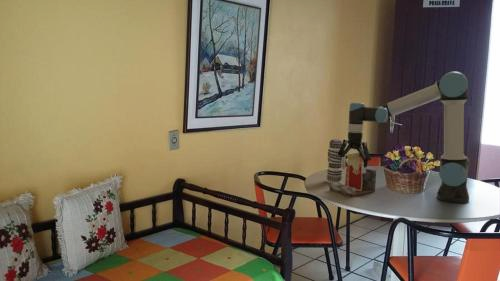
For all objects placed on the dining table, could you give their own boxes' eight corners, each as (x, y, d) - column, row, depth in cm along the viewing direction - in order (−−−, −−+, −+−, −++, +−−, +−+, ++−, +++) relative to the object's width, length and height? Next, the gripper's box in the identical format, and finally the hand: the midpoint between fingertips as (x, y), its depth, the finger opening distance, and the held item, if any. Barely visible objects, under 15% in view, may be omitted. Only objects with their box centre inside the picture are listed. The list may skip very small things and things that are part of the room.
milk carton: (359, 186, 238) (361, 151, 235) (362, 191, 229) (364, 154, 226) (342, 186, 239) (344, 150, 236) (345, 190, 230) (347, 153, 227)
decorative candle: (342, 184, 250) (344, 141, 246) (325, 182, 252) (328, 140, 248) (342, 180, 259) (344, 139, 255) (326, 179, 260) (328, 138, 257)
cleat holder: (374, 191, 234) (376, 170, 232) (352, 197, 222) (354, 174, 220) (351, 185, 246) (352, 165, 244) (328, 190, 234) (330, 168, 233)
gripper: (379, 134, 222) (376, 174, 225) (341, 128, 241) (339, 166, 244) (370, 134, 218) (368, 176, 221) (332, 129, 237) (330, 167, 240)
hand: (353, 170), depth 233 cm, fingers open, 13 cm apart
